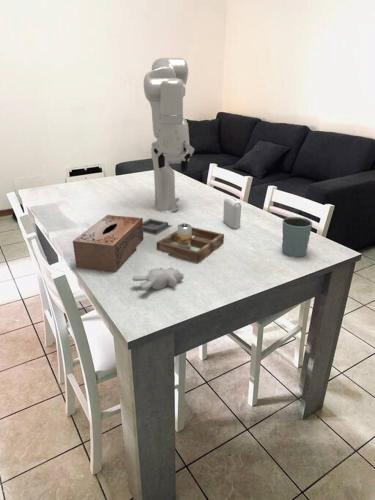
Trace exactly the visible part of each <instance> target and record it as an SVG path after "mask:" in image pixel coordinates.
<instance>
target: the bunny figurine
mask: <svg viewBox="0 0 375 500" xmlns="http://www.w3.org/2000/svg"><path fill="white" fill-rule="evenodd" d="M182 280H184V274H183V273H181V272H180V271H179V270H178V269H175V268H173V267H168V268H162V267H158V268H152V269H150V270H148V273H147V275H134V276H132V281H133V282H140V281H145V282H142V283H140V289H141V290H143V291H147V290H149V289H150V288H153V289H154V290H163V289H165V288H166V287H173V288H176V287H177V285H178V284H179V283H180V282H181V281H182Z"/></svg>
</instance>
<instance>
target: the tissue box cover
mask: <svg viewBox="0 0 375 500" xmlns="http://www.w3.org/2000/svg"><path fill="white" fill-rule="evenodd" d="M143 222H144V220H143V217H135V216H123V215H122V216H121V215H113V214H106V215H105V216H104V217H103V218H101V219H100V220H99V221H97V222H96V223H95V224H93V225H92V226H91V227H89V228H88V229H86V230H85V231H84V232H83V233H81V234H80V235H79V236H77V237H76V238H75V239H73V240H72V247H73V253H74V261H75V266H76V268H78V269H86V270H92V271H93V270H94V271H102V272H109V273H117V272H118V271H119V270H120V269H121V268H122V266H123V265H124V264H125V263H126V262H127V261H128V260H129V258H130V257H132V255H134V253H135V252H136V251H137V249H138V248H137V247H138V246H139V245H140V243H142V242H143V240H144V239H145V237H144V232H143Z"/></svg>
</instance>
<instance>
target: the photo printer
mask: <svg viewBox="0 0 375 500" xmlns="http://www.w3.org/2000/svg"><path fill="white" fill-rule="evenodd" d="M241 214H242V204H241V202H240V200H239V199H237V198H236V197H234V196H232V195H231V196H230V195H229V196H226V197H225V198H224V199H223V218H222V220H223V221H222V222H223V223H224V224H225V225H227V226H228V227H230V228H232V229H233V230H235V229H237V230H238V229H239V228H240V227H241V217H242V215H241Z"/></svg>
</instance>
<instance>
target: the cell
mask: <svg viewBox="0 0 375 500" xmlns="http://www.w3.org/2000/svg"><path fill="white" fill-rule="evenodd" d="M192 227H193V226H192V225H191V224H188V223H185V222H183V223H180V224H179V225H178V224H177V230H178V231H177V230H176V231H177V242H178V245H177V246H178V247H182V248H186V249H190V250H191V240H192V238H193V237H192V236H193V235H192Z"/></svg>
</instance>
